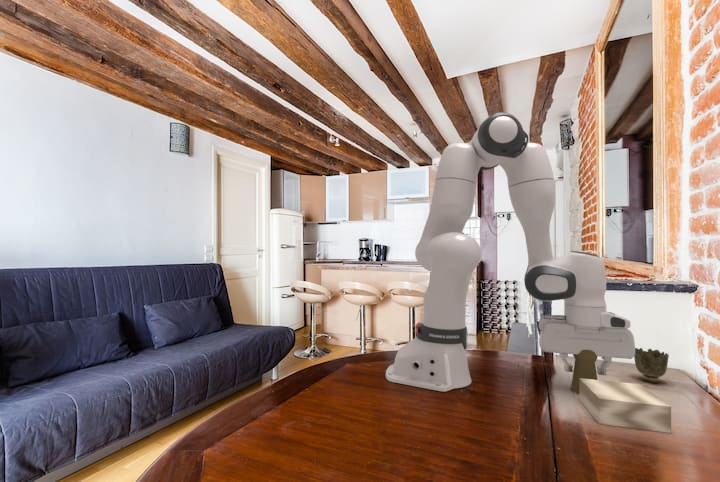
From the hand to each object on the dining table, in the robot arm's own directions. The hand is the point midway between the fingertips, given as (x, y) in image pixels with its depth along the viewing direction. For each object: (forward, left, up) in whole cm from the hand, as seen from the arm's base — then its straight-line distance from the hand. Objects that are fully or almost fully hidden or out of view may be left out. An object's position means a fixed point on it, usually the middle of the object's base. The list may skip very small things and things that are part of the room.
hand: (584, 372), depth 87 cm
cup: (+20, +14, -5) cm, 25 cm away
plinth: (+3, -12, -5) cm, 13 cm away
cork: (0, 0, -5) cm, 5 cm away
